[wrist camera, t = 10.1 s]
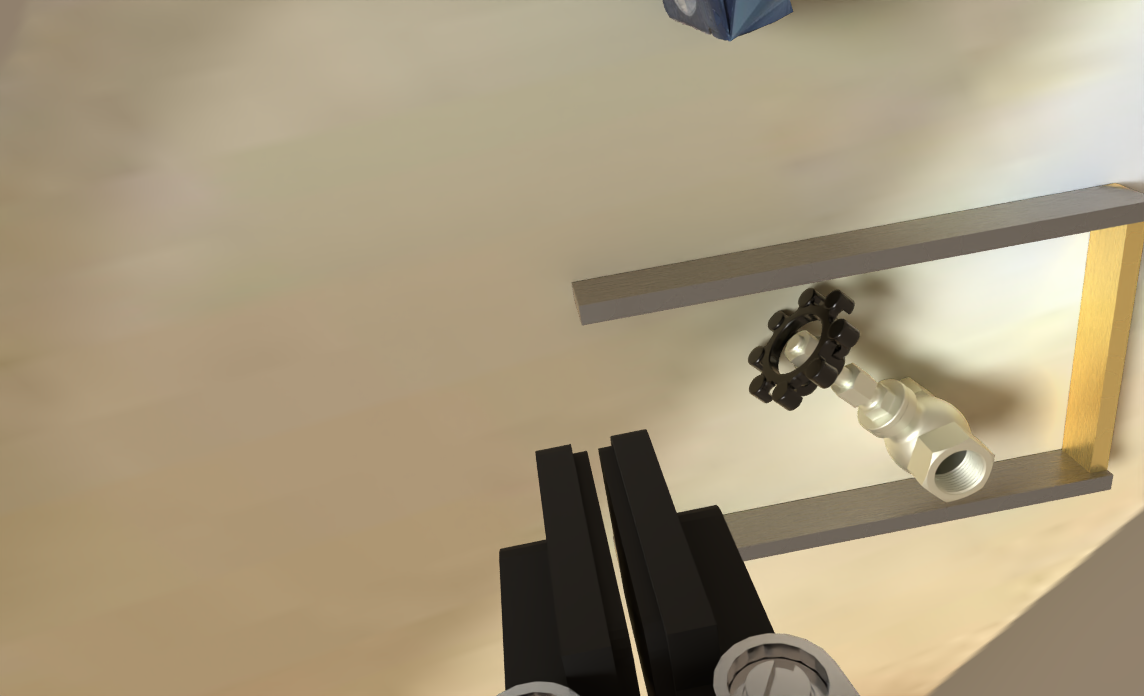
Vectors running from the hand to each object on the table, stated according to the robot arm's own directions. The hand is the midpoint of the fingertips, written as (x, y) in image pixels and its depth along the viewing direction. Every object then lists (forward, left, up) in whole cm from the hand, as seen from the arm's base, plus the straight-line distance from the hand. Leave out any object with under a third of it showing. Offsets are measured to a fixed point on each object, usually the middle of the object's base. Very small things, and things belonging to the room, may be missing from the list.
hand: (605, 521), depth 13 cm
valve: (-16, +16, -29) cm, 37 cm away
